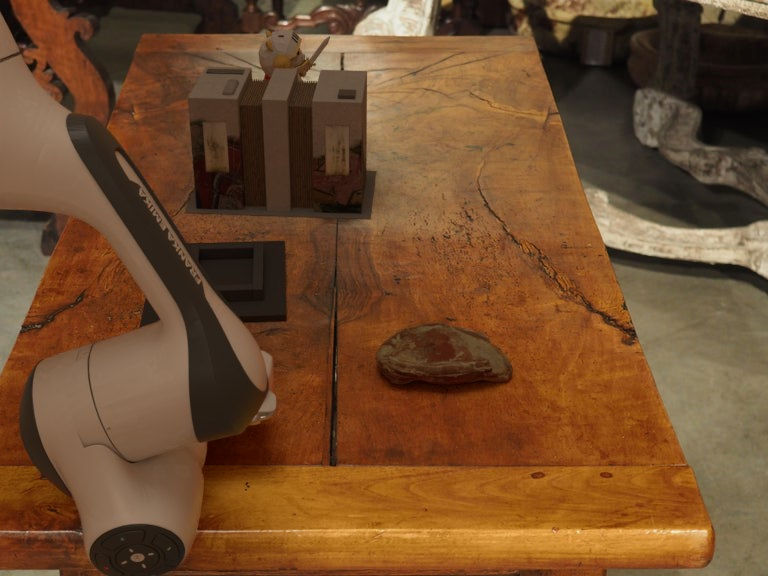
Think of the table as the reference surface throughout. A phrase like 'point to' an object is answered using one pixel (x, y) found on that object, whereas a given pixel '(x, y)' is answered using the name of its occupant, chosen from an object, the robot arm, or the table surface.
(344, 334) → the table surface
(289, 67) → the figurine
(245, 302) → the base pad
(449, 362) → the stone
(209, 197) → the bookend
